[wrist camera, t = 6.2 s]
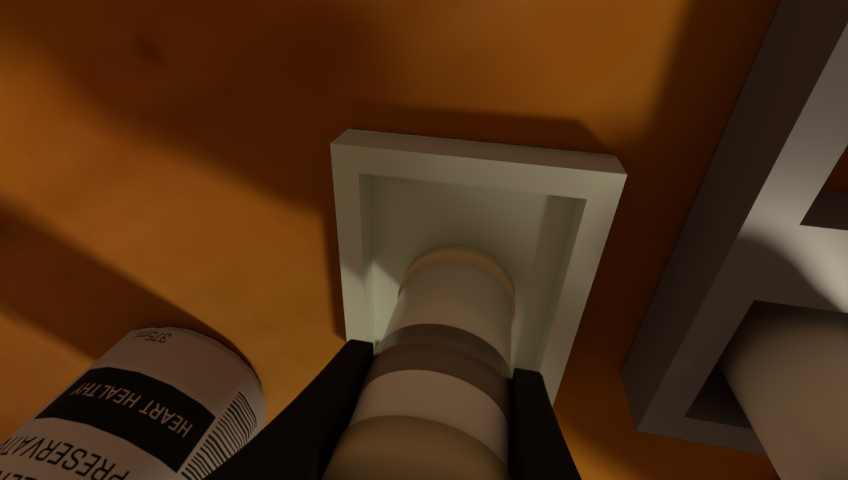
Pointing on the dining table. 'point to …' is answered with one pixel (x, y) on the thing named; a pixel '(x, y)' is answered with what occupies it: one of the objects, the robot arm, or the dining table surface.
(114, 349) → the supplement can
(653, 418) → the block
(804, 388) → the cylinder
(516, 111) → the dining table surface
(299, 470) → the robot arm
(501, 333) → the fuse
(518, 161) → the parts tray
